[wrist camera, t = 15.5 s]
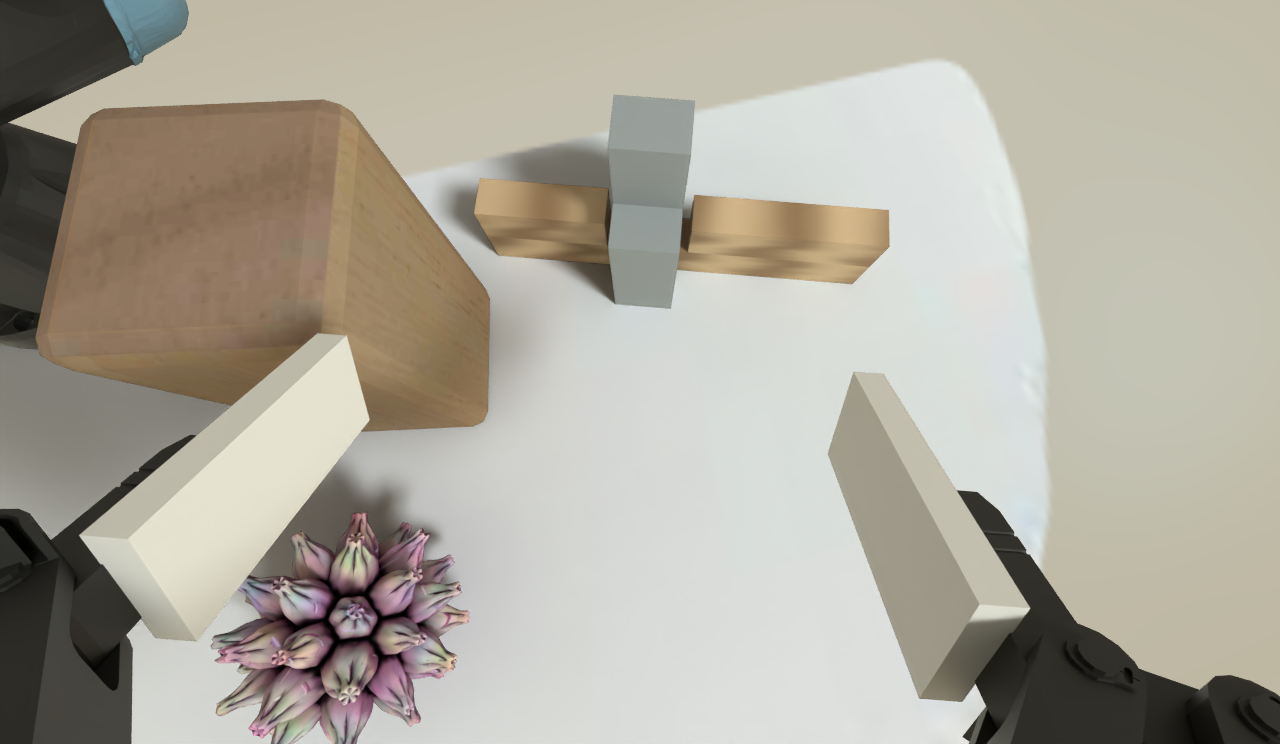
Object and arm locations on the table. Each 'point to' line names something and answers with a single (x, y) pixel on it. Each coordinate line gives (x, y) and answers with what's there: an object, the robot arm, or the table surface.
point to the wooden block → (260, 261)
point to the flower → (342, 635)
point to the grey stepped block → (647, 195)
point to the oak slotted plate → (689, 231)
